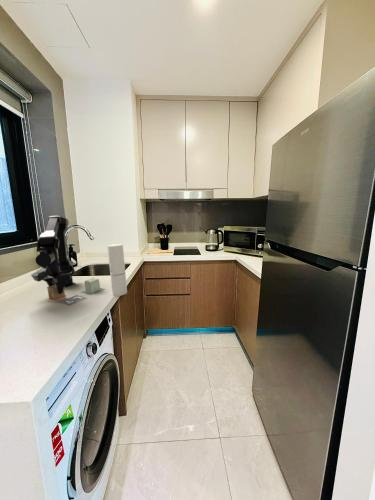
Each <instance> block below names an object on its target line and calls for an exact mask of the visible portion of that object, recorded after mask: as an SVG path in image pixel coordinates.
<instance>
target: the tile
mask: <svg viewBox="0 0 375 500" xmlns="http://www.w3.org/2000/svg"><path fill="white" fill-rule="evenodd" d="M86 299H88V297H85V296H81V295H79V294H76V295H73V296H71V297H66V298H64V299H62V300H58V303H61V304H64V305H65V306H66V305H67V306H72V305H74V304H77V303H80V302H82V301H84V300H86Z"/></svg>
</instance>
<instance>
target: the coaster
mask: <svg viewBox="0 0 375 500" xmlns="http://www.w3.org/2000/svg"><path fill="white" fill-rule="evenodd" d="M67 298H68V297H67V294H65V297H63V298H60V299H58V300H55V301H54V300H51V299H49V298H47V301H48V302H57V301H58V302H59V301H62V300H65V299H67Z"/></svg>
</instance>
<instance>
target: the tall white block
mask: <svg viewBox="0 0 375 500" xmlns="http://www.w3.org/2000/svg"><path fill="white" fill-rule="evenodd" d="M124 253H125V252H124V244H123V243H116V244H113V243H112V244H108V245H107V257H108V265H109V274H110V284H111V293H112V296H114V297H115V296H116V297H121V296H124V295H126V294H127V293H128V288H127V287H128V286H127V285H128V284H127V277H126V265H125V255H124Z"/></svg>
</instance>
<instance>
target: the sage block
mask: <svg viewBox="0 0 375 500" xmlns="http://www.w3.org/2000/svg"><path fill="white" fill-rule="evenodd" d="M83 282H84V287H85V290H86V292H89V293H94V292H96V291H99V290H100V288H101V285H100V279H99V278H95V277H92V278H91V277H90V278H89V279H85V280H84V281H83Z"/></svg>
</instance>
